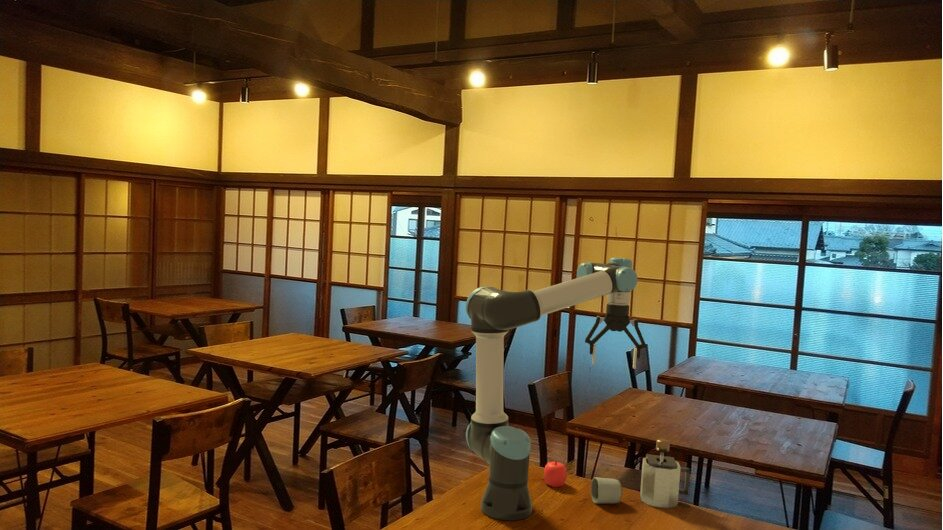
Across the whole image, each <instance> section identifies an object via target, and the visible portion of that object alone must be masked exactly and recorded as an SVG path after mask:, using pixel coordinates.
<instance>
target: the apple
mask: <svg viewBox="0 0 943 530" xmlns="http://www.w3.org/2000/svg"><path fill="white" fill-rule="evenodd" d="M543 475H544V478H543V479H544V483H546V484H547V485H548V486H550V487H551V486H552V488H558V487H559V486H560V487H563V486H564V485H565V484H566V480H567V475H568V474H567V467H566V466H565V464H564V463H562V462H558V460H555V461H550V462H549V461H548V462H547V463H546V464H545V466H544V470H543Z"/></svg>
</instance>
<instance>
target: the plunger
mask: <svg viewBox="0 0 943 530" xmlns="http://www.w3.org/2000/svg"><path fill="white" fill-rule="evenodd" d="M655 443H656V444H655V450H656V451H658V452H660V455H659V456H660V462H663V458H664V456H665V453H668V452H670V444H671V441H670V440H669V439H666V438H656V441H655ZM659 468H663V467H659Z"/></svg>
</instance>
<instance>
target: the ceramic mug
mask: <svg viewBox="0 0 943 530" xmlns="http://www.w3.org/2000/svg"><path fill="white" fill-rule="evenodd" d="M590 496H591V500H592V502H593V503H594V504H619V503H620V502H621V500H622V499H623V487H622V483H621V481H620V480H619V479H615V478H609V477H608V478H607V477H597V476H595V477H593V478H592V480H591V482H590Z"/></svg>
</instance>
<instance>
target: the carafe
mask: <svg viewBox="0 0 943 530" xmlns="http://www.w3.org/2000/svg"><path fill="white" fill-rule="evenodd" d="M659 467H663V468H659ZM681 473H685V474H684V487H683V488H680V479H681V478H680V477H681ZM690 473H691V469H690V468H689V467H686V466H685V467H682V466H681V464H680V462H679V461H677V460H675V457H673V456H665V455H664V458H663V462H660V455H655V454H646V457H642V464H641V476H640V477H641V480H640V490H639V491H640V493H639V495H640V500H641V502H642V503H644V504H645V505H647V506H649V507H653V508H656V509H657V508H658V509H663V510H664V509H665V510H666V509H668V510H669V509H673V508H675V507H676V506H678V503H679V494H681V495H689V485H690V475H691V474H690Z"/></svg>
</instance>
